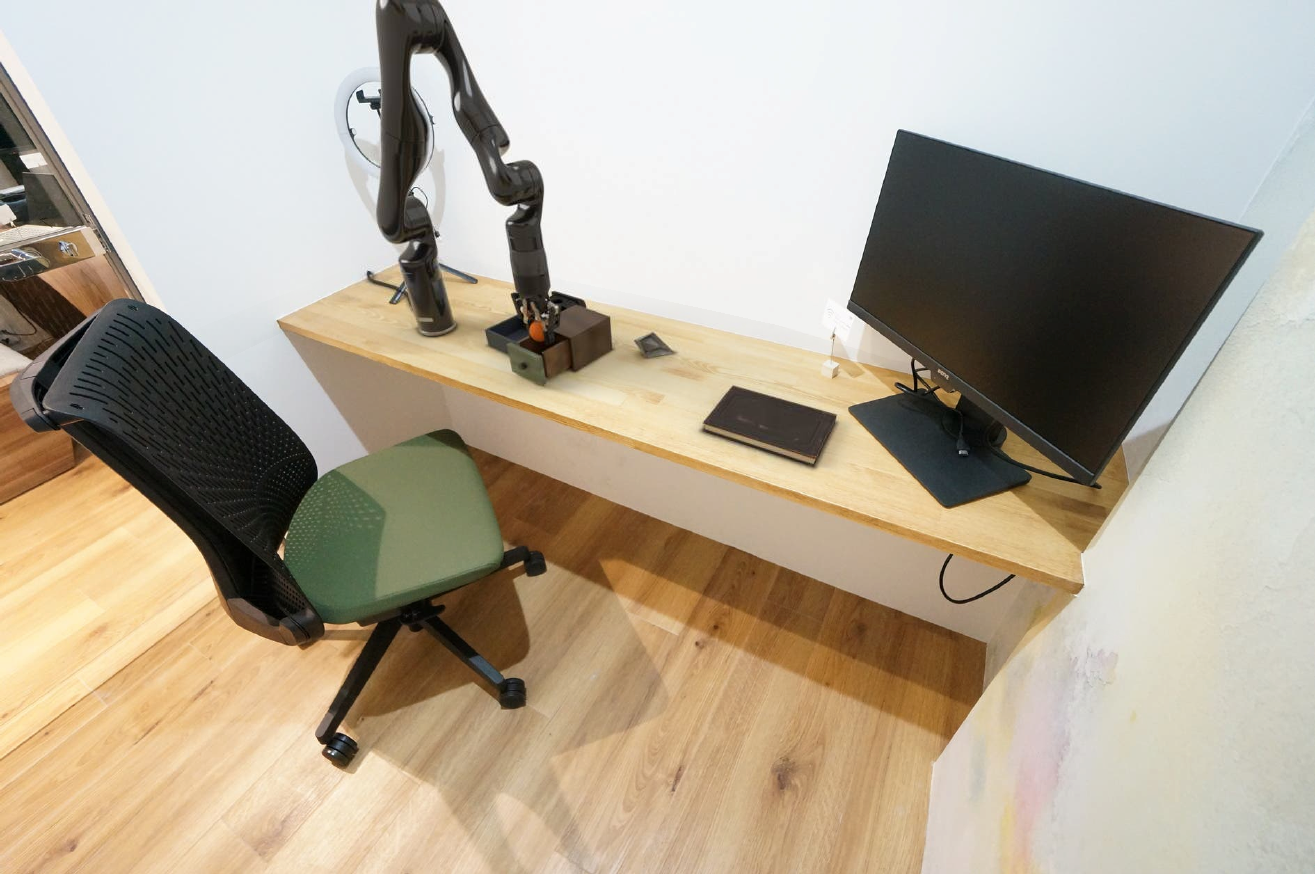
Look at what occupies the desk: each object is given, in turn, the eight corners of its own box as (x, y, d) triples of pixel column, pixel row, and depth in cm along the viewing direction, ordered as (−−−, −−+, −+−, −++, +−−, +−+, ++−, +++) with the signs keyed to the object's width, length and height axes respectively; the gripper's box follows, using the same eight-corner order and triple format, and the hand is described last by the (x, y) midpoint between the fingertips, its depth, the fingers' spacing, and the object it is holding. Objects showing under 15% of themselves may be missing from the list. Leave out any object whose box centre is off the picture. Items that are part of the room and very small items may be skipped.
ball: (526, 341, 121) (523, 322, 118) (542, 333, 124) (539, 314, 121) (541, 347, 119) (538, 328, 116) (556, 339, 122) (553, 320, 119)
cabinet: (574, 372, 126) (570, 338, 121) (541, 357, 132) (535, 324, 126) (612, 349, 135) (610, 316, 129) (579, 336, 140) (575, 304, 135)
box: (488, 345, 137) (484, 329, 134) (522, 328, 144) (520, 313, 141) (524, 361, 130) (520, 345, 127) (558, 343, 137) (556, 327, 135)
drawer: (538, 388, 119) (533, 360, 115) (508, 373, 124) (502, 346, 120) (580, 363, 128) (577, 336, 123) (550, 350, 133) (546, 323, 128)
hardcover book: (813, 467, 99) (815, 457, 98) (702, 431, 108) (702, 422, 107) (835, 421, 110) (837, 413, 109) (732, 392, 119) (733, 383, 118)
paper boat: (662, 336, 137) (686, 340, 131) (656, 361, 138) (680, 365, 131) (626, 324, 129) (651, 327, 122) (620, 350, 130) (644, 354, 123)
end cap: (588, 318, 148) (585, 295, 144) (570, 328, 144) (568, 305, 140) (561, 310, 153) (558, 287, 149) (544, 319, 148) (540, 296, 144)
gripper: (493, 265, 112) (508, 337, 123) (540, 281, 105) (551, 356, 116) (520, 255, 117) (532, 325, 127) (567, 269, 110) (575, 343, 121)
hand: (541, 340), depth 122 cm, fingers closed on ball, 4 cm apart
